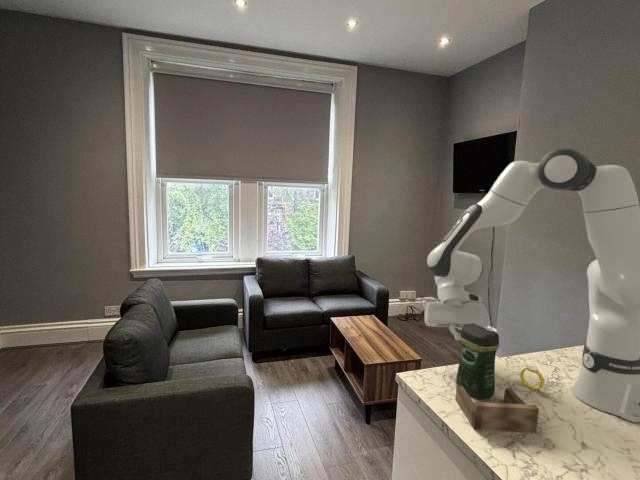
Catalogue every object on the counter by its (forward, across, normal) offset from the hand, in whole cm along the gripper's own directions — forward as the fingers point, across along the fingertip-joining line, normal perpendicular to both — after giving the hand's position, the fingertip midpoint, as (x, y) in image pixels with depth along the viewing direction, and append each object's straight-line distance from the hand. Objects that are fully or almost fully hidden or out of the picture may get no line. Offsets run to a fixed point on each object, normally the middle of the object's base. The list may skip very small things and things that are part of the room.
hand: (460, 339), depth 106 cm
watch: (+13, +18, 0) cm, 22 cm away
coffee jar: (+15, 0, -2) cm, 16 cm away
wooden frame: (+22, 0, -9) cm, 24 cm away
